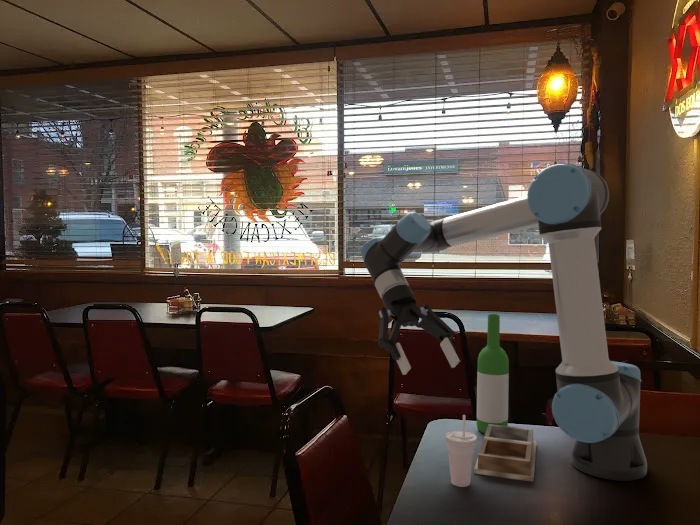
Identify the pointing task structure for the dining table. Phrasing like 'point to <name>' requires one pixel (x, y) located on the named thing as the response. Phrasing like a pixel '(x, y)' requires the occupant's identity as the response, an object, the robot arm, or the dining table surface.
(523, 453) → the board
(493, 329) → the wine bottle
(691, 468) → the dining table surface
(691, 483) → the dining table surface
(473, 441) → the smoothie
